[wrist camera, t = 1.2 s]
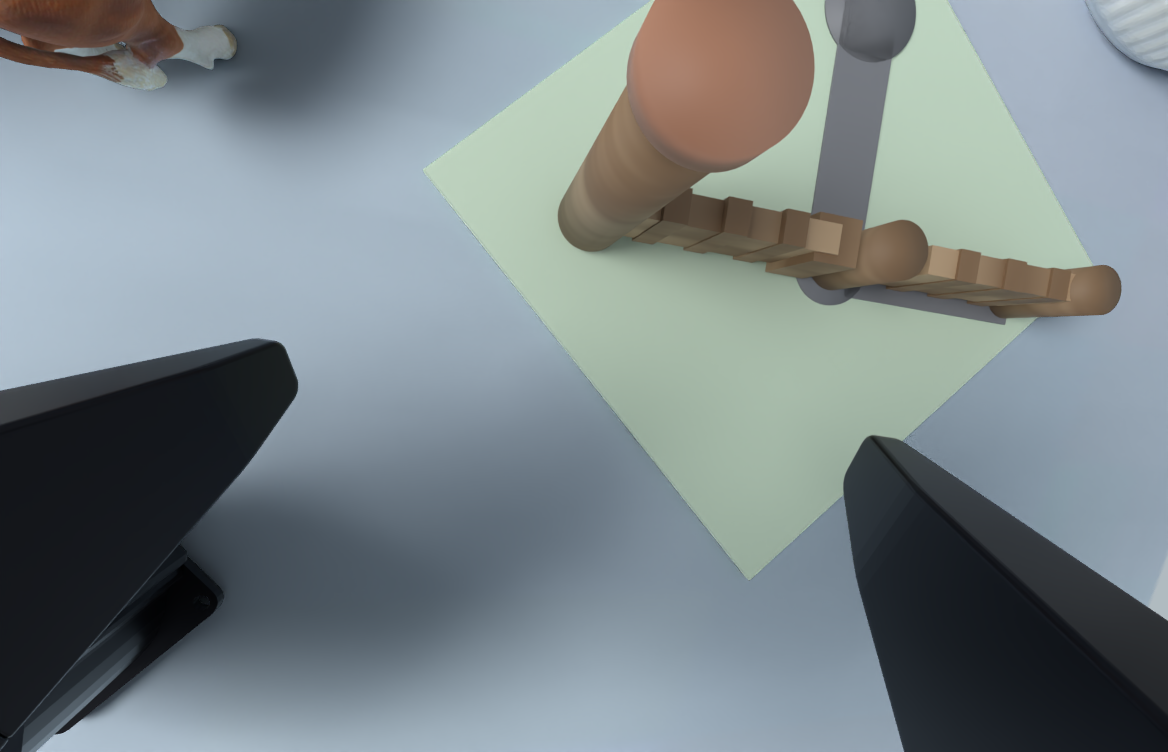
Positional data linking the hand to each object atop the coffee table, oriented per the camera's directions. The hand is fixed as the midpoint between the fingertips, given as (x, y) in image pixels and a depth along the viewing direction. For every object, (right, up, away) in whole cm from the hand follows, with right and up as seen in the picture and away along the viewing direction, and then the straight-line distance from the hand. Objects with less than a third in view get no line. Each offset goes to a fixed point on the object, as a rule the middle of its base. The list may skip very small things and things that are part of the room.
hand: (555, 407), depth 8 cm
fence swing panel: (+4, +6, +11) cm, 13 cm away
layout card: (+9, +6, +13) cm, 17 cm away
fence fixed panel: (+14, +4, +14) cm, 21 cm away
